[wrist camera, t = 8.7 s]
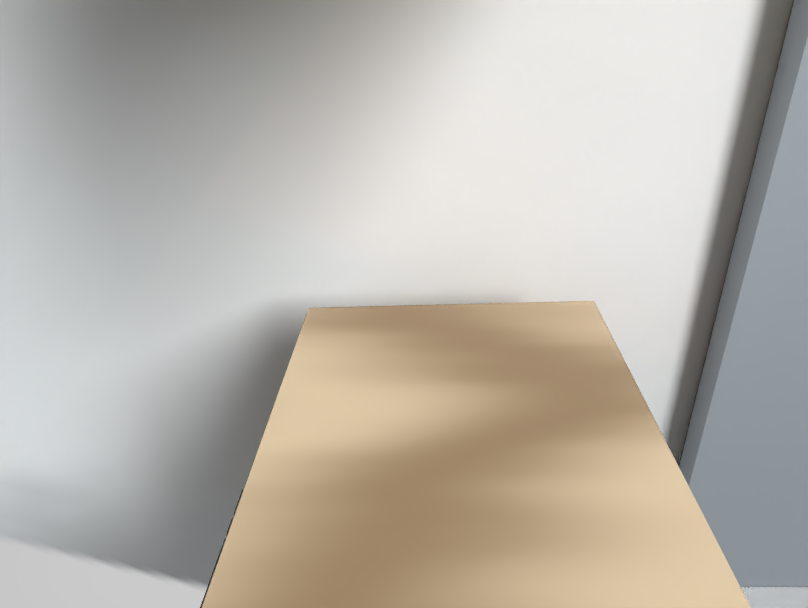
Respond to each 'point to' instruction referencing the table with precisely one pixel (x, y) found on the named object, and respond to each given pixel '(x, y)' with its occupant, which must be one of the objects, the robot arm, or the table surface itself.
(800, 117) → the letter board
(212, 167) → the table surface
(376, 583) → the oak block
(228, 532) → the robot arm
